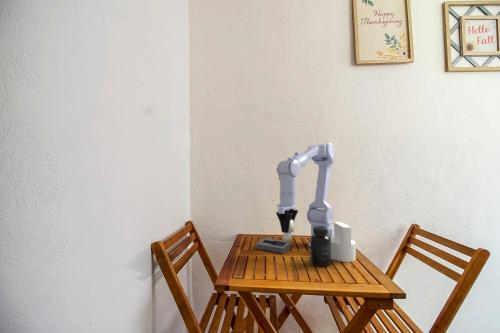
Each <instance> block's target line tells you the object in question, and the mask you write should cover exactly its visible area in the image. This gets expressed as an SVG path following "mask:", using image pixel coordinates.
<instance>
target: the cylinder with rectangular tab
mask: <svg viewBox="0 0 500 333" xmlns="http://www.w3.org/2000/svg"><path fill="white" fill-rule="evenodd" d="M333 227H334V238H331V260H335V261H337V262H345V263H351V262H355V261H356V255H357V254H356V251H357V250H356V241H355V240H353V239H352V226H350V225H348V224H346V223H344V222H342V221H334V223H333Z"/></svg>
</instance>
